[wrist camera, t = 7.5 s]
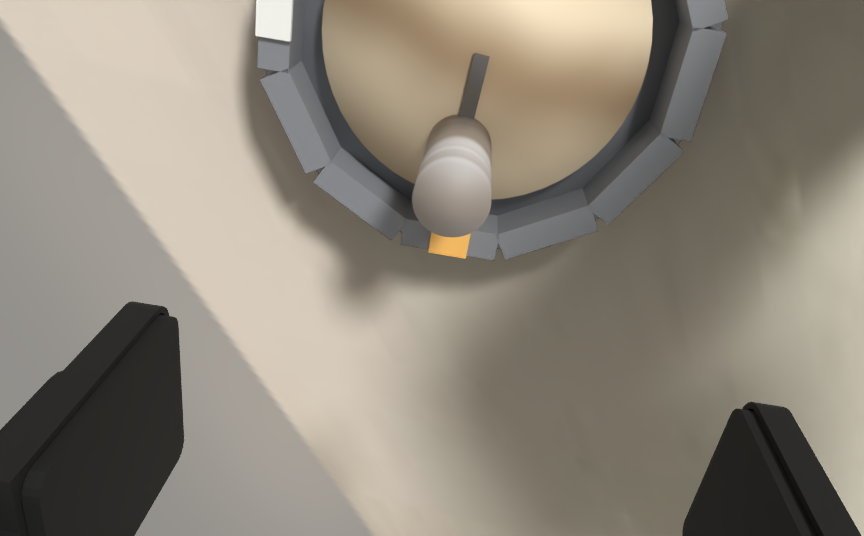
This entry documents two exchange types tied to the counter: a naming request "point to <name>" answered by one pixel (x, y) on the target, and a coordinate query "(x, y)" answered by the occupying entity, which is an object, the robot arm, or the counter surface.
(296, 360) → the counter surface
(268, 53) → the dial housing
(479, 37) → the dial
